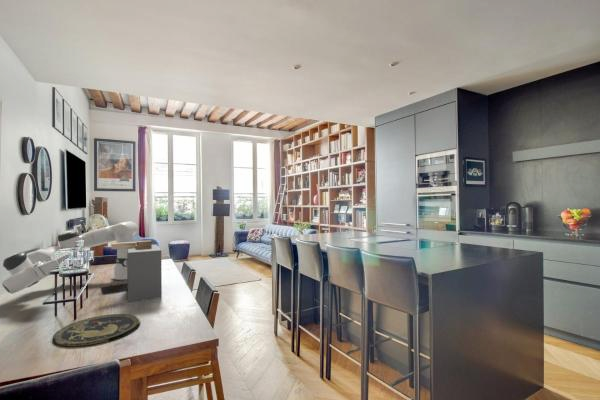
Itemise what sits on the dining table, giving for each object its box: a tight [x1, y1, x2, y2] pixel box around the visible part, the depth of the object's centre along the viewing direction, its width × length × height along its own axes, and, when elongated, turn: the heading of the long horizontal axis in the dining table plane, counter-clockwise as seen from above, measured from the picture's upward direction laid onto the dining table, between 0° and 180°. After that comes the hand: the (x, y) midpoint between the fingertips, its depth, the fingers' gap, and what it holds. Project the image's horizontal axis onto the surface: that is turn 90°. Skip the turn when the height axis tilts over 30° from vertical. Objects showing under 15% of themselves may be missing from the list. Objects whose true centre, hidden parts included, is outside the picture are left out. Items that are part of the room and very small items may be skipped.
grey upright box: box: [126, 244, 163, 303], centre depth 179 cm, size 28×16×26 cm, turn 30°
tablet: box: [100, 282, 128, 296], centre depth 193 cm, size 27×1×20 cm
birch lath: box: [110, 241, 137, 250], centre depth 183 cm, size 4×20×3 cm, turn 120°
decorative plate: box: [52, 313, 141, 348], centre depth 127 cm, size 30×2×30 cm
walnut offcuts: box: [136, 239, 153, 249], centre depth 180 cm, size 6×8×4 cm
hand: (69, 254), depth 168 cm, fingers open, 8 cm apart
